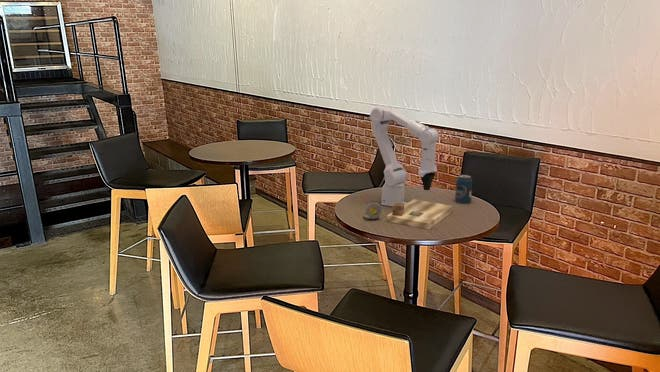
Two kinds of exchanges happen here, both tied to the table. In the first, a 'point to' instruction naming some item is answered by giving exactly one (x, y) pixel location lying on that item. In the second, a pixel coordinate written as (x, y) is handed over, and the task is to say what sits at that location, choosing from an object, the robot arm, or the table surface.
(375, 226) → the table surface
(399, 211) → the walnut cube
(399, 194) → the robot arm
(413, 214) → the ball
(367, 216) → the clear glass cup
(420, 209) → the deck
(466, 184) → the soda can
